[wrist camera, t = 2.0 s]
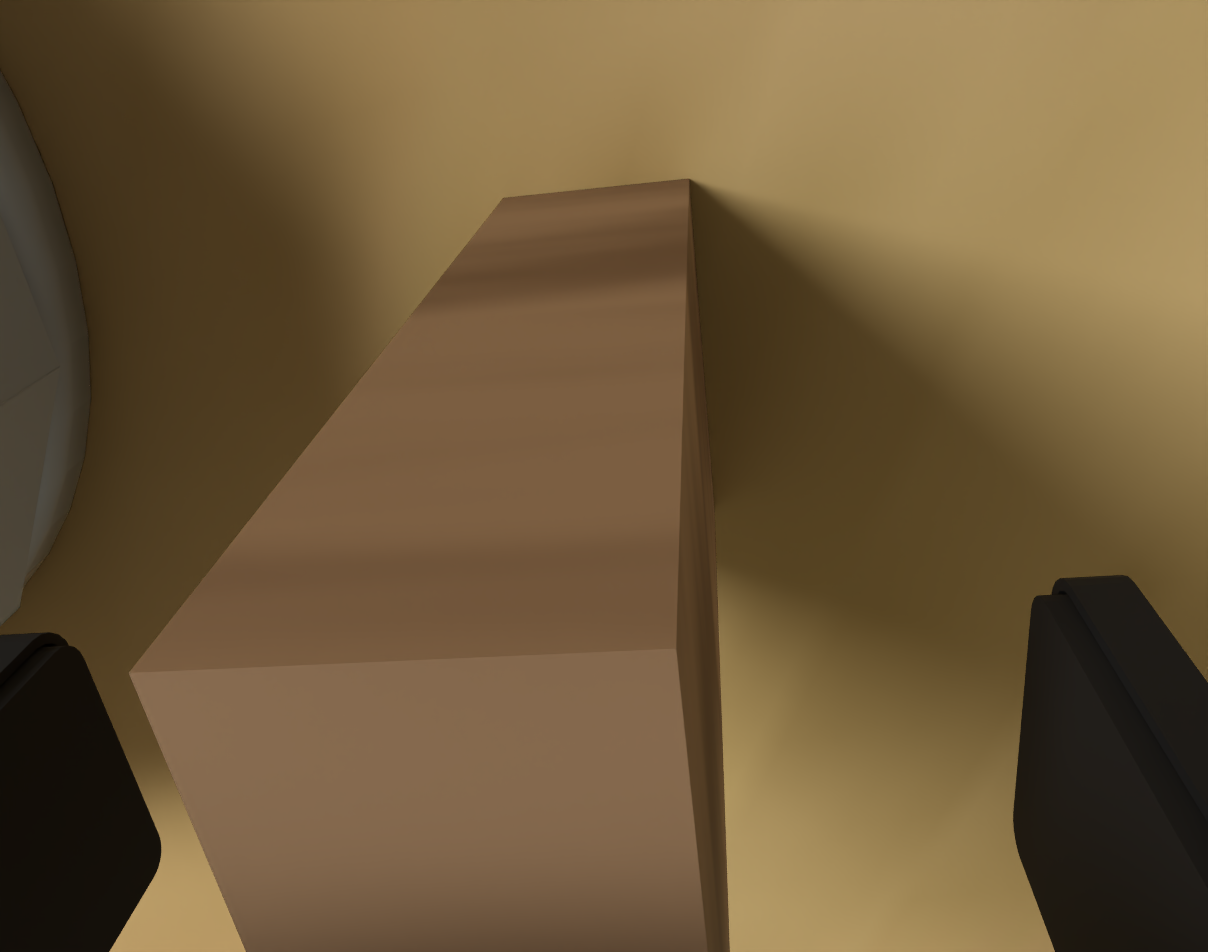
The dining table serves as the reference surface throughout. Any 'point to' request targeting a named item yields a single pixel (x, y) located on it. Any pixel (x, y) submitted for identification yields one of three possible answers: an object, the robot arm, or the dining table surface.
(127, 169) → the dining table surface
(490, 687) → the brown rectangular block
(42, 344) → the grey bowl
